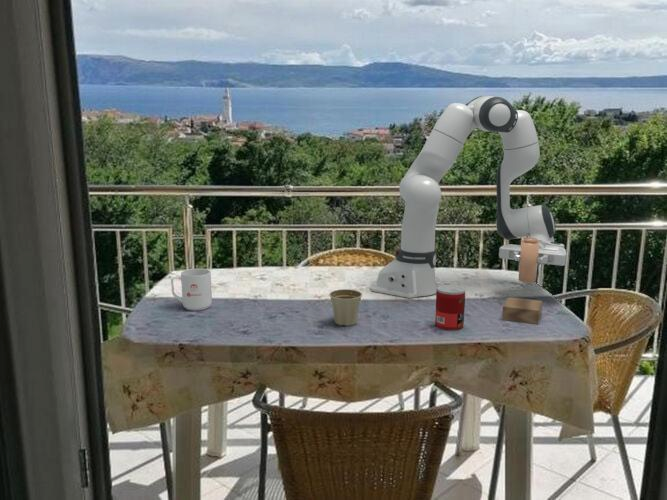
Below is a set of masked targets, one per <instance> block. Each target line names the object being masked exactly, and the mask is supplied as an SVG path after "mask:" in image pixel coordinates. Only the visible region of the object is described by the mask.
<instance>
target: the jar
mask: <svg viewBox="0 0 667 500" xmlns="http://www.w3.org/2000/svg"><path fill="white" fill-rule="evenodd" d="M537 241H538V239H536V238H529V237H523V240H521V244H520V245H521V254H520V261H519V268H518V281H520V282H522V283H535V282H536V281H537V272H538V265H537V258H538V253H539V242H537Z"/></svg>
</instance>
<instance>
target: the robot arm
mask: <svg viewBox="0 0 667 500" xmlns="http://www.w3.org/2000/svg"><path fill="white" fill-rule="evenodd" d="M536 129H537V128H536V127H535V124H534V120H533V118H532V116H531V114H530V113H529V112H528V111H526V110H522V109H521V110H520V109H515V108H514V107H513V105H512V104H511V103H510V101H508V100H507V99H505V98H503V97H500V96H495V95H479V96H477V97H475V98H473V99H472V100H470V101H469V102H467V103H465V104H464V103H460V102H453V103H450V104H449V105H448V106H447V107H446V108H445V109H444V111H443V112H442V113H441V115H440V116H439V118H438V119H437V121H436V122H435V124H434V126H433V128H432V130H431V132H430V134H429V135H428V138H427V139H426V141H425V143H424V145H423V147H422V149H421V151H420V153H419V154H418V155H417V157H416V158H415V159H414V161H413V163H412V164H411V165H410V167H409V168H408V170H407V171H406V173H405V175H404V177H402V179H401V180H400V183H399V188H398V189H399V195H400V198H401V199H402V200H404V211H403V219H402V223H401V233H400V234H401V235H400V236H401V238H400V246H398V247H397V248H396V250H395V251H394V255H393V256H394V259H393V260H391V262H389V263H387V264H386V265H385V266H383V267H382V268H381V269H380V271H379V273H378V276H377V280H376V281H374V282H372V283H371V285H370V291H372V292H375V293H380V294H386V295H392V296H397V297H401V298H402V297H403V298H407V299H413V298H418V297H426V296H432V295H435V294H436V290H437V287H438V284H437V280H436V268H435V267H436V263H437V250H436V248H435V247H436V246H435V245H436V227H437V219H438V215H439V209H440V202H441V199H442V189H441V187H440V185H439V183H440V182H441V180H442V179H443V178H444V177H445V175H446V174H447V173H448V171H449V170H450V169H451V168H452V167H453V165H454V164H455V162H456V160H457V158H458V156H459V154H460V152H461V151H462V148H463V147H464V145H465V143H466V141H467V139H468V137H469V135H471V133H472V132H473V131H474V130H480V131H483V132H491V133H498V134H499V136H500V138H501V143H502V147H503V149H502V150H503V160H502V162H501V163H499V165H497V170H496V182H495V183H496V184H495V185H496V187H495V188H496V221H495V226H496V227H495V228H496V229H495V230H496V232H497V235H499V236H500V237H502V238H503V239H505V240H507V241H509V240H510V241H511V240H514V239H518V238H526V237H528V238H536V239H538V241H537V242H539V253H538V258H537V266H539V265H554V266H561V267H562V266H565V265H566V261H567V260H566V258H567V250H566V249H565V244H563V243H560V242H555V239H554V235H555V233H556V220H555V217H554V214H553V212H552V211H551V209H550V208H548V207H547V206H546V205H544V204H541V205H534V206H529V207H522V208H515V209H513V208H512V207H511V203H510V202H511V201H510V200H511V199H510V197H511V196H510V193H511V192H510V191H511V190H510V187H511V186H510V185H511V183H512V182H513V181H514V180H516V179H517V178H518V177H520V176H522V175H524V174H526V173H527V172H529V171H530V170H532V169H533V168H534V167H535V166H536V164H538V162H539V160H540V154H541V153H540V152H541V151H540V143H539V142H540V141H539V138H538V134H537V130H536ZM498 250H499V251H498V257H499V258H500V259H504V260H512V261H515V262H520V254H521V244H510V243H509V244H508V243H507V244H503V245H501V246H500V247H499V249H498Z"/></svg>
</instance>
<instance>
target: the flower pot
mask: <svg viewBox="0 0 667 500" xmlns="http://www.w3.org/2000/svg"><path fill="white" fill-rule="evenodd" d="M328 296H329V298H330V300H331V303H332V311H333V318H334V323H335V324H336V325H338V326H345V327H349V326H350V327H351V326H354V325H356V324H357V321H358V316H359V315H358V313H359V306H360V302H361V299H362V297H363V293H362V292H361V291H359V290H355V289H349V288H347V289H346V288H344V289H337V290H333V291H330V292H329V293H328Z"/></svg>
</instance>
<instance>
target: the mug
mask: <svg viewBox="0 0 667 500" xmlns="http://www.w3.org/2000/svg"><path fill="white" fill-rule="evenodd" d="M211 275H212V273H211V270H209V269H207V268H190V269H185V270H183V271H181V272H180V276H174V277H170V284H171V294H172V296H173V297H174V298H175V299H177V300H178V301H180V302H181V303H182V306H183V308H185V309H186V310H188V311H191V312H192V311H203V310H207V309H209V308H210V306H211V305H212V304H213V303H212V302H213V299H212V297H213V296H212V294H213V293H212V276H211ZM175 279H177V280H180V283H181V284H180V285H181V297H180V296H179V295H177V294H176V293H175V288H174V280H175Z"/></svg>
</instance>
